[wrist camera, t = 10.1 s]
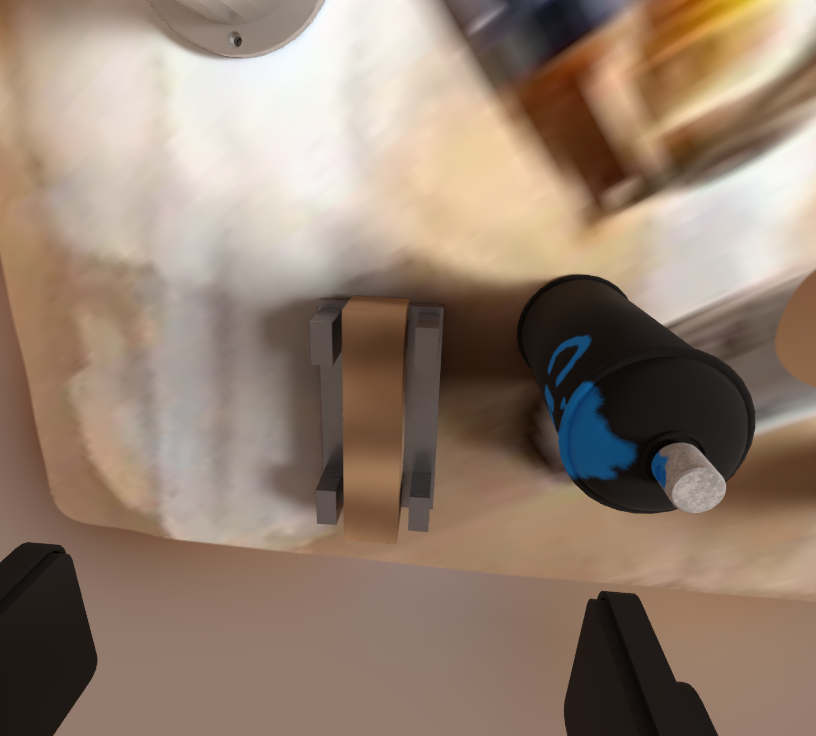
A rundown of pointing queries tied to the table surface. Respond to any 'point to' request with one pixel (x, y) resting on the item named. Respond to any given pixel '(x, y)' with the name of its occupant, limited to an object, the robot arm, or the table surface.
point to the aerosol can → (633, 400)
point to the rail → (373, 415)
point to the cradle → (418, 408)
